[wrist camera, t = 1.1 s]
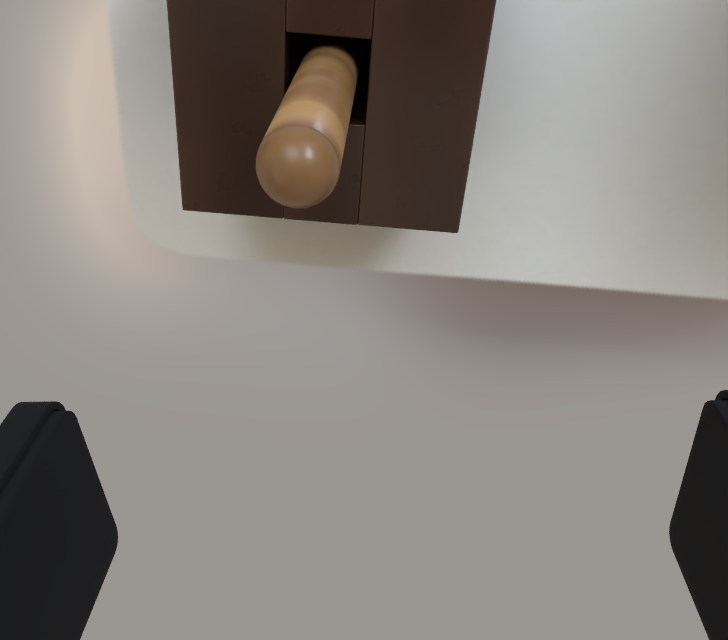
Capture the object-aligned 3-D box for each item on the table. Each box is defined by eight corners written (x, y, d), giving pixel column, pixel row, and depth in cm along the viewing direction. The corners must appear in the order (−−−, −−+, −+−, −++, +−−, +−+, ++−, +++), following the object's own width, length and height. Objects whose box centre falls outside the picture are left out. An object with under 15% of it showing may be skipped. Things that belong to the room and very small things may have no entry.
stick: (307, 37, 29) (230, 180, 16) (340, 1, 28) (289, 119, 15) (341, 73, 30) (295, 238, 16) (374, 38, 29) (355, 182, 16)
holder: (221, 148, 32) (182, 210, 26) (210, -120, 26) (157, -117, 20) (447, 167, 32) (458, 233, 26) (485, -95, 26) (510, -86, 20)
